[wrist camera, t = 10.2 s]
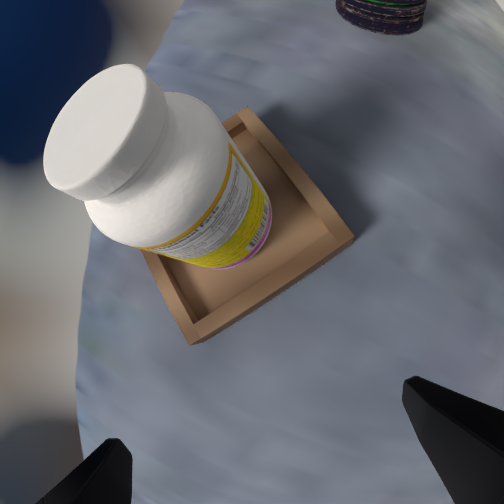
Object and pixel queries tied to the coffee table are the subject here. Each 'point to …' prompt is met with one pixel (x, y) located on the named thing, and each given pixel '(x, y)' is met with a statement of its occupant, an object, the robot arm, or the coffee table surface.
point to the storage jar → (383, 15)
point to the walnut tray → (270, 254)
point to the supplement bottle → (157, 171)
